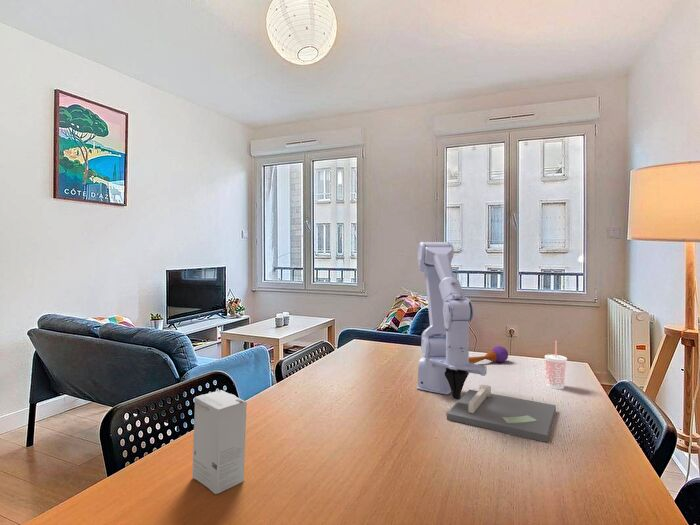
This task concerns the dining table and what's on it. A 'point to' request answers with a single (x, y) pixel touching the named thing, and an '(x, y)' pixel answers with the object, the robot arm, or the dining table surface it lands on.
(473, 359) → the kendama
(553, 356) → the beverage cup
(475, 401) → the cream bar
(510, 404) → the board
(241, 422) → the skincare box
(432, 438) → the dining table surface
